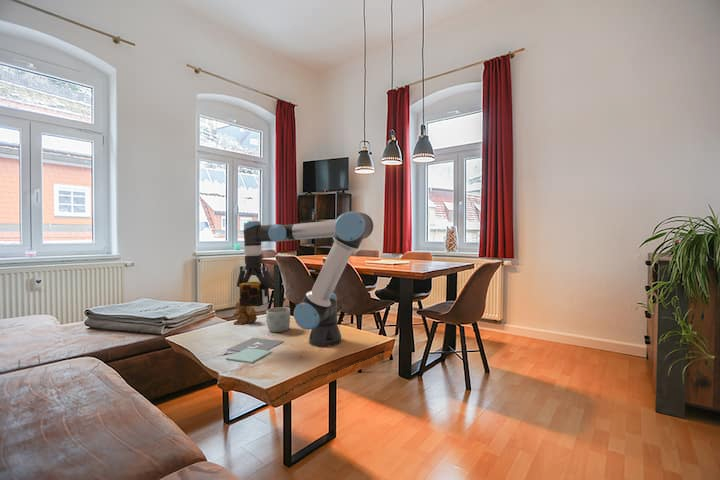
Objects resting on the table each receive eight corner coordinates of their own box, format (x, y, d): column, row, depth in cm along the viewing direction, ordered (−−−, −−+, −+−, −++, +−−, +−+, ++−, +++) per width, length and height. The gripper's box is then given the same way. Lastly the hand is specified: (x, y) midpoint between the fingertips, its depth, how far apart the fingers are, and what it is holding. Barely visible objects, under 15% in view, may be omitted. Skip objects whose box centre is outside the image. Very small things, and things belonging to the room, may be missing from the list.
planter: (287, 333, 183) (287, 312, 182) (263, 333, 183) (263, 312, 182) (292, 326, 195) (292, 307, 195) (270, 327, 195) (269, 307, 195)
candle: (259, 306, 157) (259, 284, 157) (238, 306, 159) (238, 284, 159) (270, 302, 167) (269, 280, 167) (250, 301, 169) (249, 280, 169)
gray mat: (283, 341, 169) (283, 341, 169) (259, 354, 152) (259, 353, 152) (253, 338, 176) (253, 337, 176) (226, 350, 159) (226, 349, 159)
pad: (271, 352, 154) (271, 351, 154) (252, 363, 142) (251, 361, 142) (247, 349, 159) (247, 348, 159) (226, 359, 147) (226, 358, 147)
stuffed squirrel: (240, 320, 213) (239, 298, 213) (261, 320, 210) (260, 298, 209) (230, 324, 203) (229, 301, 203) (252, 325, 200) (251, 302, 200)
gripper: (279, 254, 162) (280, 302, 162) (238, 254, 170) (240, 299, 171) (269, 255, 155) (271, 305, 155) (227, 255, 163) (229, 303, 164)
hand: (254, 302), depth 163 cm, fingers closed on candle, 11 cm apart
